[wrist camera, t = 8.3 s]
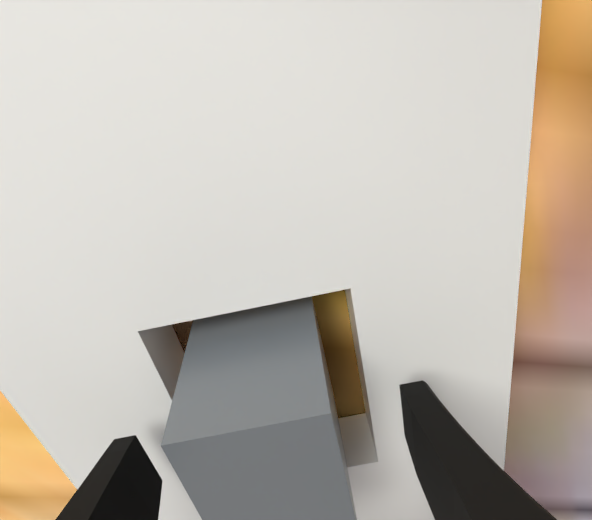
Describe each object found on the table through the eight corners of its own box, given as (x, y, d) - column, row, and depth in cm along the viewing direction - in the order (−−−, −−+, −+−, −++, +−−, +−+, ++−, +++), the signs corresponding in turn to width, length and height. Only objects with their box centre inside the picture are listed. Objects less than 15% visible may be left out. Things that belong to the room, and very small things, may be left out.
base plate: (476, 466, 17) (500, 514, 16) (157, 524, 18) (145, 577, 16) (495, -188, 8) (562, -252, 6) (-200, -16, 8) (-326, -30, 6)
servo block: (333, 395, 15) (361, 544, 11) (240, 412, 15) (229, 567, 11) (308, 280, 12) (330, 413, 8) (197, 303, 13) (160, 445, 8)
